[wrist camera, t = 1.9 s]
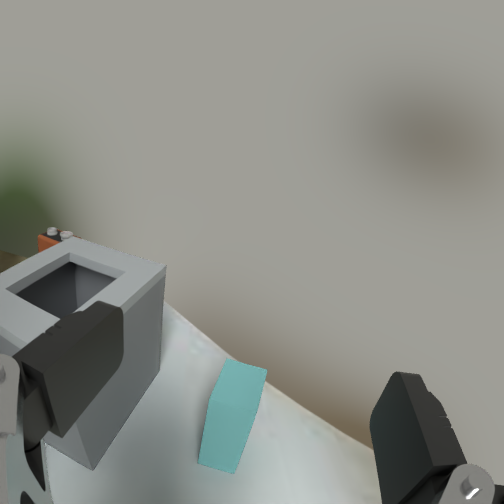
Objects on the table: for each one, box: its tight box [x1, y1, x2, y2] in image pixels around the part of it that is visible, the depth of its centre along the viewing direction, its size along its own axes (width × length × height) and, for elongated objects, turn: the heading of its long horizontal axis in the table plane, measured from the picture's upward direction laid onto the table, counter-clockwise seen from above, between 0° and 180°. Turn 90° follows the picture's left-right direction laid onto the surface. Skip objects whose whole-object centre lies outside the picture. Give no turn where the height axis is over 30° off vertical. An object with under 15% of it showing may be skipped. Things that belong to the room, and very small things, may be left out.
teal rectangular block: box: [198, 359, 267, 474], centre depth 25 cm, size 4×5×10 cm
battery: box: [38, 227, 81, 253], centre depth 43 cm, size 4×7×10 cm, turn 76°
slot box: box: [0, 236, 166, 470], centre depth 26 cm, size 12×16×14 cm
